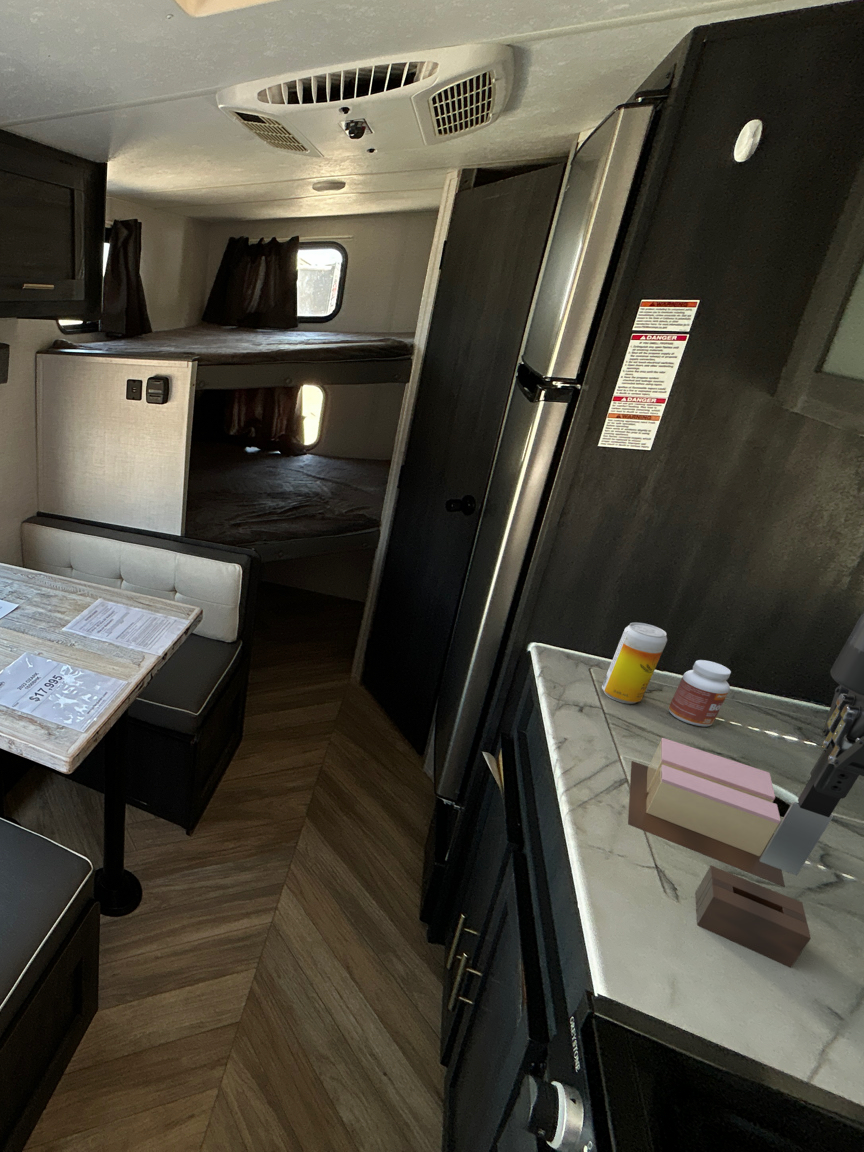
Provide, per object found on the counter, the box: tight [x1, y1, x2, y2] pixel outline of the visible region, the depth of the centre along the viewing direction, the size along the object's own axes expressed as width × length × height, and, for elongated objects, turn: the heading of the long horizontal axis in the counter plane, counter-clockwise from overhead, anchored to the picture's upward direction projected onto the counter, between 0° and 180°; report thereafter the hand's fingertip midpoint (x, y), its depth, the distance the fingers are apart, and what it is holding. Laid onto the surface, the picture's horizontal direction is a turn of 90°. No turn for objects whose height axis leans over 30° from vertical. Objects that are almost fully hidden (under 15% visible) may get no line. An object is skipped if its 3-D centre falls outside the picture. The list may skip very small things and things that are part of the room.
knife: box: [759, 743, 841, 877], centre depth 70 cm, size 3×2×17 cm, turn 49°
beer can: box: [601, 622, 668, 705], centre depth 120 cm, size 6×6×15 cm
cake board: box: [627, 760, 786, 888], centre depth 94 cm, size 16×18×1 cm
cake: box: [647, 737, 776, 803], centre depth 95 cm, size 12×7×7 cm, turn 49°
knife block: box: [694, 865, 812, 969], centre depth 76 cm, size 8×6×6 cm
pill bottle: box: [668, 659, 732, 727], centre depth 115 cm, size 6×6×11 cm
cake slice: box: [646, 765, 782, 856], centre depth 91 cm, size 12×4×7 cm, turn 49°
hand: (826, 787), depth 69 cm, fingers closed on knife, 1 cm apart
